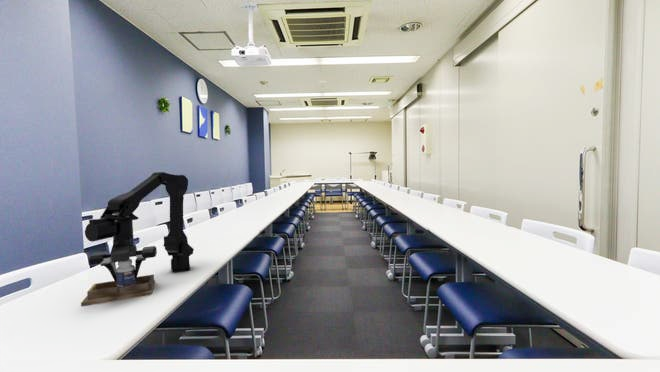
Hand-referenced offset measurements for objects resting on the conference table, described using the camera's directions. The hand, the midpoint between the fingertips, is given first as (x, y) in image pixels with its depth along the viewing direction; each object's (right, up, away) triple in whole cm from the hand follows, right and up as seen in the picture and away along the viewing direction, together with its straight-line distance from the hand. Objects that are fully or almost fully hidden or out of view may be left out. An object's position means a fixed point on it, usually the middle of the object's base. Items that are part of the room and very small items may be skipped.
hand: (126, 279), depth 104 cm
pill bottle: (0, -3, 0) cm, 3 cm away
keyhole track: (-1, -5, 0) cm, 5 cm away
